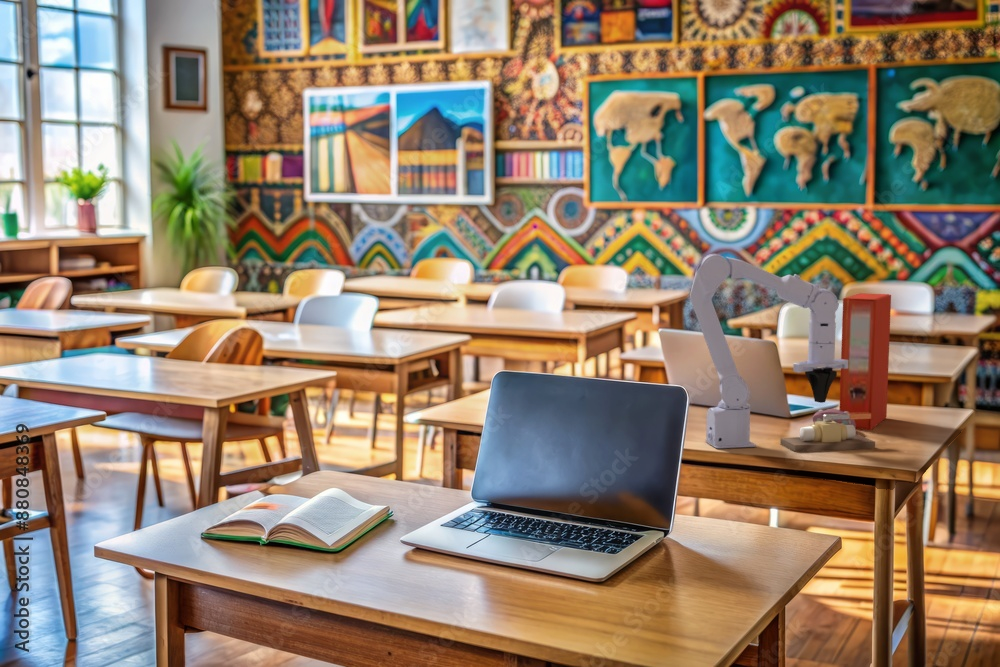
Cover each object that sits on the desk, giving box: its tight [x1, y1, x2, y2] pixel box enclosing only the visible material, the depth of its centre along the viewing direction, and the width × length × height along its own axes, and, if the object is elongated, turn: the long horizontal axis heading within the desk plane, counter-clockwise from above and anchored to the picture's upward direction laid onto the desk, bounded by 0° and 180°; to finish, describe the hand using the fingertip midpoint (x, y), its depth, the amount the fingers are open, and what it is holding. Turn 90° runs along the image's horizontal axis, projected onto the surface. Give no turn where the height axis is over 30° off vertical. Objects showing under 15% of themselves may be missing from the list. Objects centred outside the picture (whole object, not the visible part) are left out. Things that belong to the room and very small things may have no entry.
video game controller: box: [812, 408, 857, 430], centre depth 262 cm, size 10×5×7 cm, turn 63°
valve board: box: [779, 434, 876, 453], centre depth 246 cm, size 19×8×2 cm, turn 98°
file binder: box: [838, 292, 892, 431], centre depth 271 cm, size 8×17×32 cm, turn 149°
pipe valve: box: [799, 421, 857, 442], centre depth 246 cm, size 12×4×4 cm, turn 98°
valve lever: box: [823, 412, 871, 422], centre depth 246 cm, size 11×2×2 cm, turn 99°
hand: (819, 401), depth 245 cm, fingers closed
